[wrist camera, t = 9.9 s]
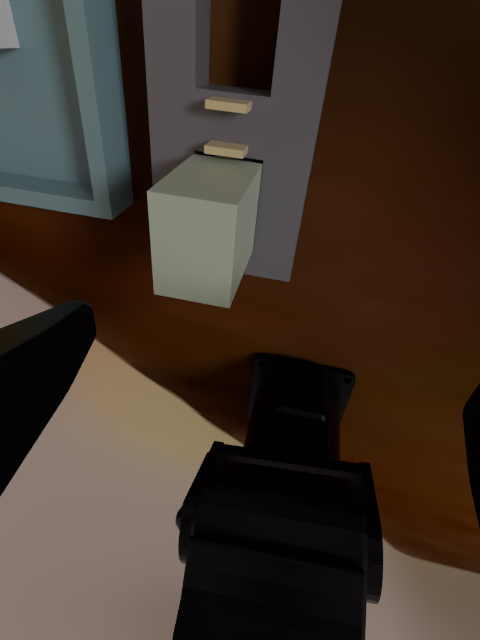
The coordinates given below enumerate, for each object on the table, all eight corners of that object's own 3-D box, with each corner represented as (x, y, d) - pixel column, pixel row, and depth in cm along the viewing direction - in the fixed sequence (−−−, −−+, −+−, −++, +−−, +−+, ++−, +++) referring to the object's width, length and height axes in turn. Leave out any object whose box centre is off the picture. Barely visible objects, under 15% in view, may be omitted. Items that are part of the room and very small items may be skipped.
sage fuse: (260, 231, 20) (229, 308, 14) (205, 222, 20) (153, 294, 15) (269, 151, 18) (237, 205, 12) (207, 142, 18) (147, 191, 12)
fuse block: (292, 263, 21) (287, 292, 18) (170, 242, 21) (149, 267, 19) (441, -527, 8) (482, -745, 6) (144, -509, 9) (78, -694, 7)
